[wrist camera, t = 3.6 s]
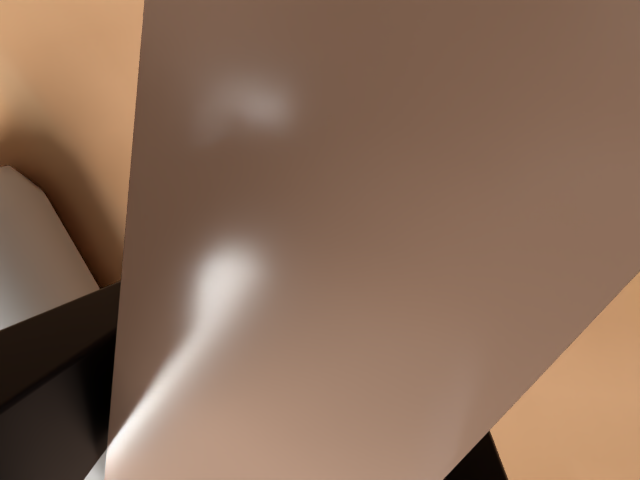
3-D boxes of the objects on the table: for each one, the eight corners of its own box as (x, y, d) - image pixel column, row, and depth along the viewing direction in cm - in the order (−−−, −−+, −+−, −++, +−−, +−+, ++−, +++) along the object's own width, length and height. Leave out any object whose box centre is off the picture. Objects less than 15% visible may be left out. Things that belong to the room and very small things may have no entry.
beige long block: (792, -221, 5) (1286, -410, 2) (312, 508, 15) (254, 678, 12) (400, -363, 5) (206, -747, 2) (185, 445, 15) (94, 595, 12)
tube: (-144, 207, 19) (147, 584, 30) (-107, 217, 16) (205, 637, 27) (-3, 146, 22) (212, 507, 34) (53, 144, 19) (271, 545, 30)
